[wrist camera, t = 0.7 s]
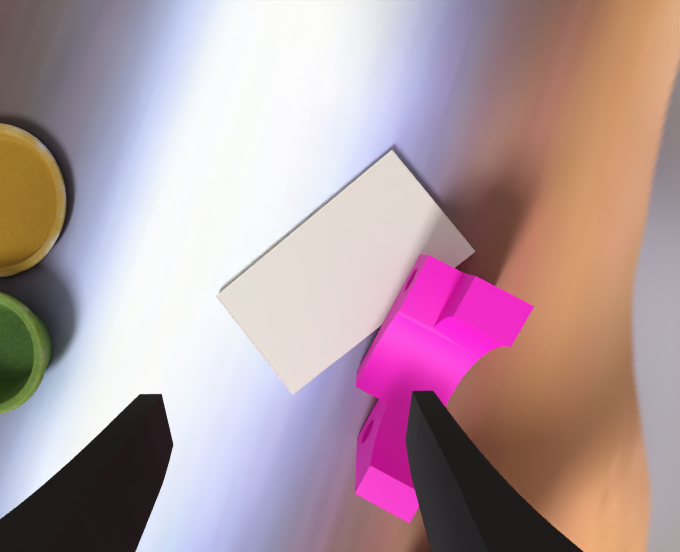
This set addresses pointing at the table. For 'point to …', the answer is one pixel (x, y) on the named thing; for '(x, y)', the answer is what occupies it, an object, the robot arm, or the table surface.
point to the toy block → (424, 366)
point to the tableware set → (25, 256)
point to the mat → (340, 271)
